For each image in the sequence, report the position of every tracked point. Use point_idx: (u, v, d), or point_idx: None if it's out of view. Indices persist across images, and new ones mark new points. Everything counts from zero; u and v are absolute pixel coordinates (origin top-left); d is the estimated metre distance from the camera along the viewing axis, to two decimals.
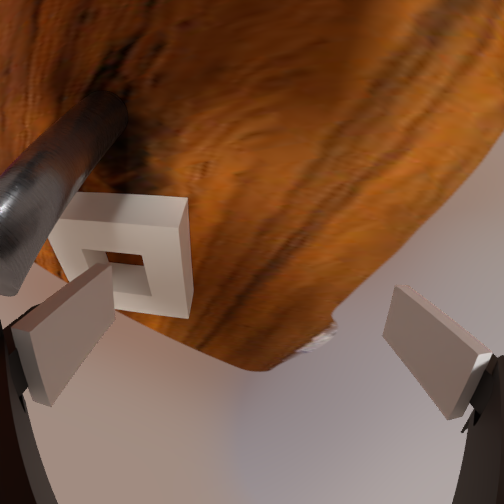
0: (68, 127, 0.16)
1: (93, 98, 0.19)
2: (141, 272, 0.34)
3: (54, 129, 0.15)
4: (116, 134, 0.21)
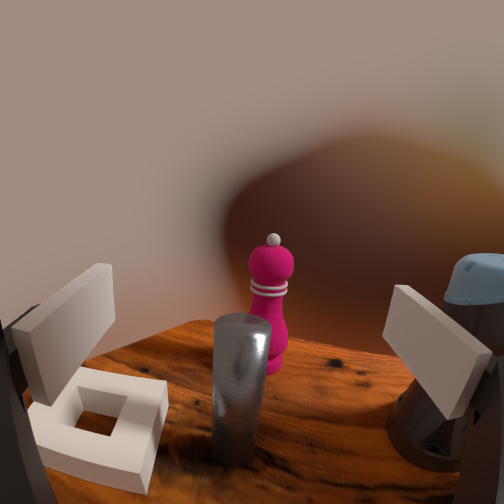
0: (258, 419, 0.26)
1: (255, 445, 0.28)
2: None
3: None
4: (227, 454, 0.26)
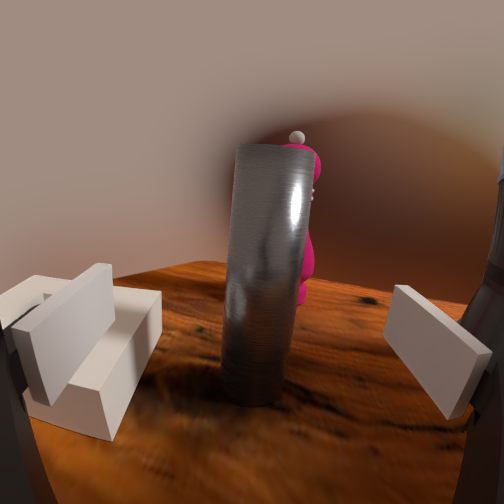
0: (294, 314, 0.19)
1: (285, 371, 0.21)
2: None
3: None
4: (244, 379, 0.18)
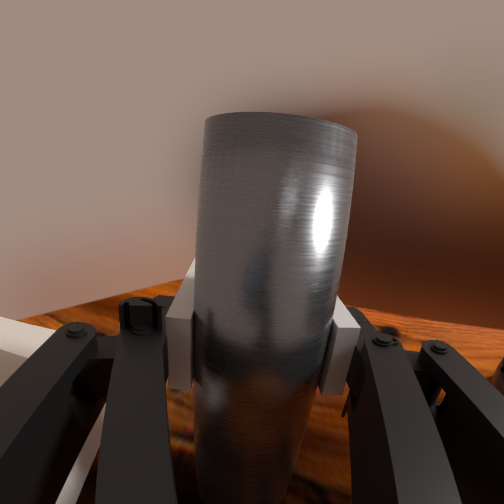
0: (309, 414, 0.10)
1: None
2: None
3: None
4: (230, 497, 0.10)
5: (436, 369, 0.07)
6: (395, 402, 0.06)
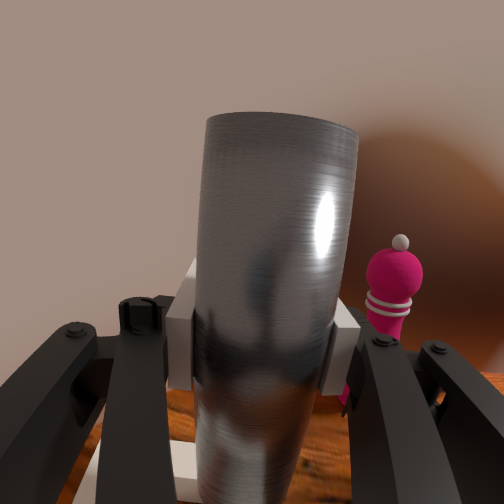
0: None
1: None
2: None
3: None
4: (231, 497, 0.10)
5: (436, 369, 0.07)
6: (395, 402, 0.06)
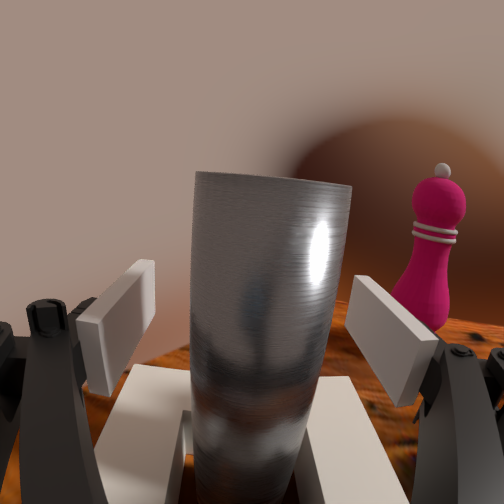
0: (301, 442, 0.11)
1: None
2: (175, 503, 0.11)
3: None
4: None
5: (500, 372, 0.07)
6: (466, 406, 0.05)
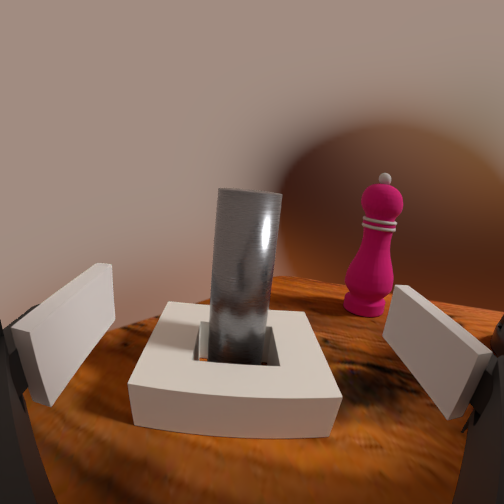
0: (265, 322, 0.24)
1: None
2: None
3: None
4: None
5: None
6: None
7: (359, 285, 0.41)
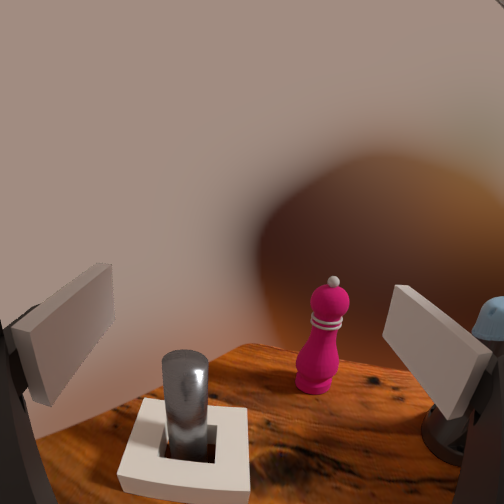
0: (205, 435, 0.30)
1: None
2: None
3: None
4: None
5: None
6: None
7: (305, 371, 0.47)
